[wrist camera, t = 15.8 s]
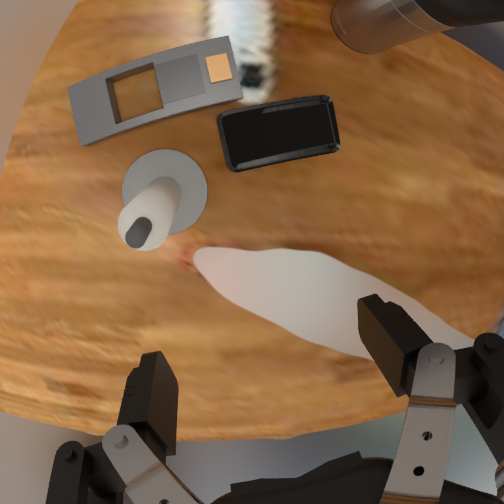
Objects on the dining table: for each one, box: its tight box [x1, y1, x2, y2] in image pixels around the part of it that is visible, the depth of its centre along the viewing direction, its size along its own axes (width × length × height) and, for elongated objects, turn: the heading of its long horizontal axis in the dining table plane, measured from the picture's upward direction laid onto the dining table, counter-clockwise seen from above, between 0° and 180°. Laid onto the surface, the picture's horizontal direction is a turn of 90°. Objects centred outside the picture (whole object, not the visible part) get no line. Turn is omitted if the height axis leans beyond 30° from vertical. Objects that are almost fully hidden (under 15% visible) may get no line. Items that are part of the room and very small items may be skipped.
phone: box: [217, 95, 340, 172], centre depth 37 cm, size 8×1×15 cm
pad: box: [122, 149, 207, 235], centre depth 38 cm, size 11×11×1 cm
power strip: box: [68, 36, 243, 147], centre depth 31 cm, size 20×8×4 cm, turn 102°
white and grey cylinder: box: [118, 176, 182, 251], centre depth 29 cm, size 4×4×17 cm
